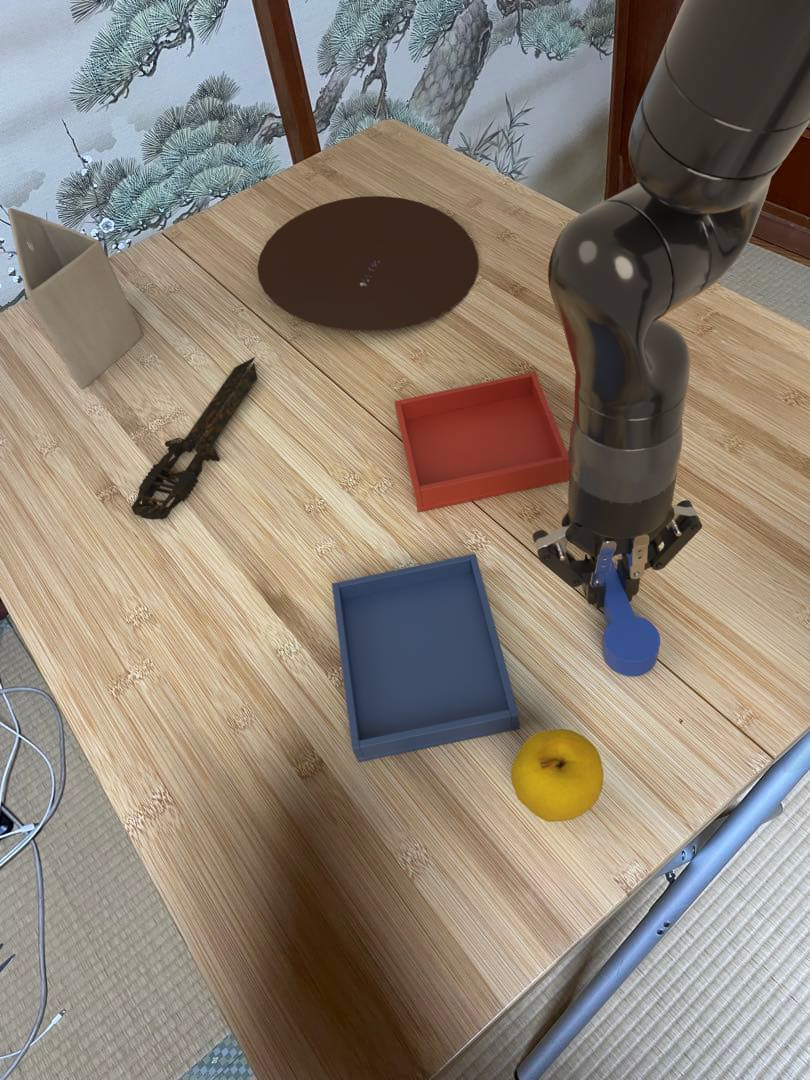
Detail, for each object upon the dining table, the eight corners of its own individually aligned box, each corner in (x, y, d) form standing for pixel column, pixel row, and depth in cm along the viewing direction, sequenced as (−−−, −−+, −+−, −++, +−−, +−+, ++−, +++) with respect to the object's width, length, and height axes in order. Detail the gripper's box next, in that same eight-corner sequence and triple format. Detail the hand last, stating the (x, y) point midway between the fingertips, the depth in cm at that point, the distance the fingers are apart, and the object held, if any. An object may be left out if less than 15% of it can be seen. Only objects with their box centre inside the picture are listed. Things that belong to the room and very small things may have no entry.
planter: (143, 375, 101) (72, 231, 86) (79, 390, 101) (-3, 249, 86) (144, 298, 112) (81, 158, 97) (86, 311, 112) (14, 173, 97)
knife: (246, 359, 101) (243, 350, 100) (291, 369, 98) (288, 360, 97) (119, 510, 88) (114, 502, 87) (167, 526, 85) (163, 517, 84)
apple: (503, 824, 62) (498, 782, 56) (526, 746, 66) (524, 699, 59) (589, 850, 60) (594, 810, 54) (608, 769, 64) (614, 723, 57)
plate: (442, 354, 96) (439, 328, 93) (229, 332, 105) (220, 307, 102) (502, 219, 112) (501, 193, 109) (312, 209, 120) (307, 184, 117)
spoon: (573, 573, 75) (573, 557, 73) (621, 563, 75) (623, 547, 73) (612, 681, 68) (613, 667, 66) (665, 670, 68) (668, 655, 66)
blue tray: (477, 570, 77) (475, 553, 75) (519, 729, 67) (518, 714, 65) (337, 599, 77) (331, 583, 75) (358, 762, 67) (352, 749, 65)
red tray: (535, 393, 90) (535, 371, 88) (569, 480, 82) (570, 459, 79) (398, 422, 90) (394, 400, 88) (418, 512, 82) (414, 491, 80)
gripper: (541, 518, 57) (543, 649, 70) (740, 477, 56) (704, 616, 70) (515, 442, 61) (521, 579, 75) (698, 404, 61) (672, 547, 75)
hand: (610, 596), depth 72 cm, fingers closed on spoon, 2 cm apart
